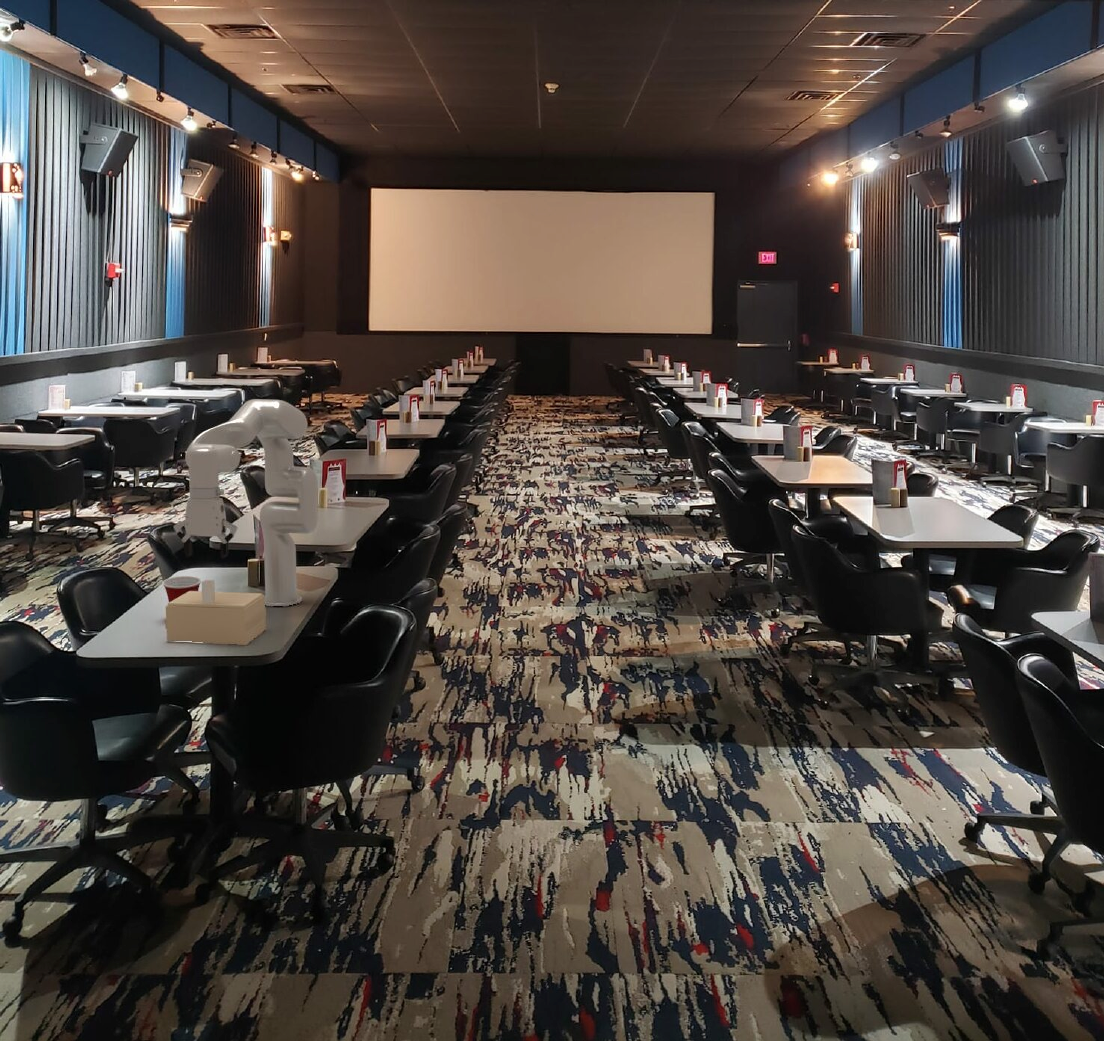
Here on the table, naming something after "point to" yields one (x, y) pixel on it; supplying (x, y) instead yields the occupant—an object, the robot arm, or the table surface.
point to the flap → (215, 598)
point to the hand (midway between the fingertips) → (206, 556)
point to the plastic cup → (180, 586)
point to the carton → (216, 623)
